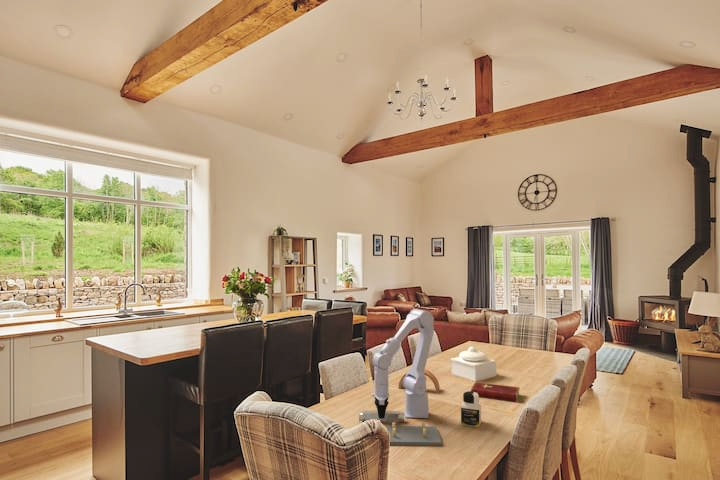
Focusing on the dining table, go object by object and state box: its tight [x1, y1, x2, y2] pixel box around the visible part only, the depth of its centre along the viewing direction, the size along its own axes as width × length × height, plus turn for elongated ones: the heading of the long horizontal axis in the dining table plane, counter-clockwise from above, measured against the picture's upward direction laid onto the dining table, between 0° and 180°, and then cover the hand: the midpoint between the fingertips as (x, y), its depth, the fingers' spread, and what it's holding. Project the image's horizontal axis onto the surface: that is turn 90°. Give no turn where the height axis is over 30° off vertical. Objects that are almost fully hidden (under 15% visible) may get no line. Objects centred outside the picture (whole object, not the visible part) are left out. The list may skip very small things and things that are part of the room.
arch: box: [397, 368, 441, 394], centre depth 213 cm, size 6×20×10 cm, turn 69°
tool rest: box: [384, 422, 443, 447], centre depth 156 cm, size 22×14×4 cm, turn 88°
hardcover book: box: [470, 381, 520, 403], centre depth 203 cm, size 12×21×4 cm, turn 64°
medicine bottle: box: [460, 390, 482, 428], centre depth 170 cm, size 7×7×12 cm
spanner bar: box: [358, 409, 405, 424], centre depth 172 cm, size 18×3×4 cm, turn 88°
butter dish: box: [450, 346, 497, 383], centre depth 237 cm, size 18×18×16 cm
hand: (381, 416), depth 172 cm, fingers closed on spanner bar, 3 cm apart
